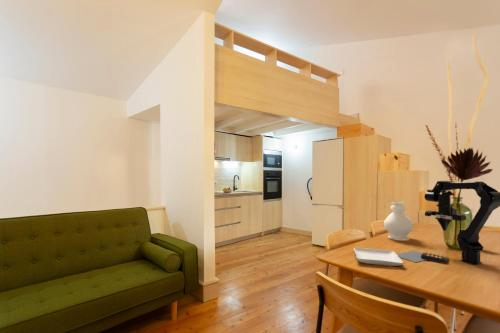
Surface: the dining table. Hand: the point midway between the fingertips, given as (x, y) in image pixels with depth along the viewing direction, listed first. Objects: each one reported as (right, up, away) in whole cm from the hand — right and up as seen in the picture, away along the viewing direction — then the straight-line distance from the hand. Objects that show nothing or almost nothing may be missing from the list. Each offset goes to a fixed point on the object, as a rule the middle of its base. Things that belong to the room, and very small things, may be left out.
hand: (444, 230), depth 150 cm
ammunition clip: (-15, -12, -13) cm, 23 cm away
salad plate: (-43, -14, -9) cm, 46 cm away
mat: (-20, -13, -5) cm, 24 cm away
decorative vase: (-7, -14, +35) cm, 38 cm away
